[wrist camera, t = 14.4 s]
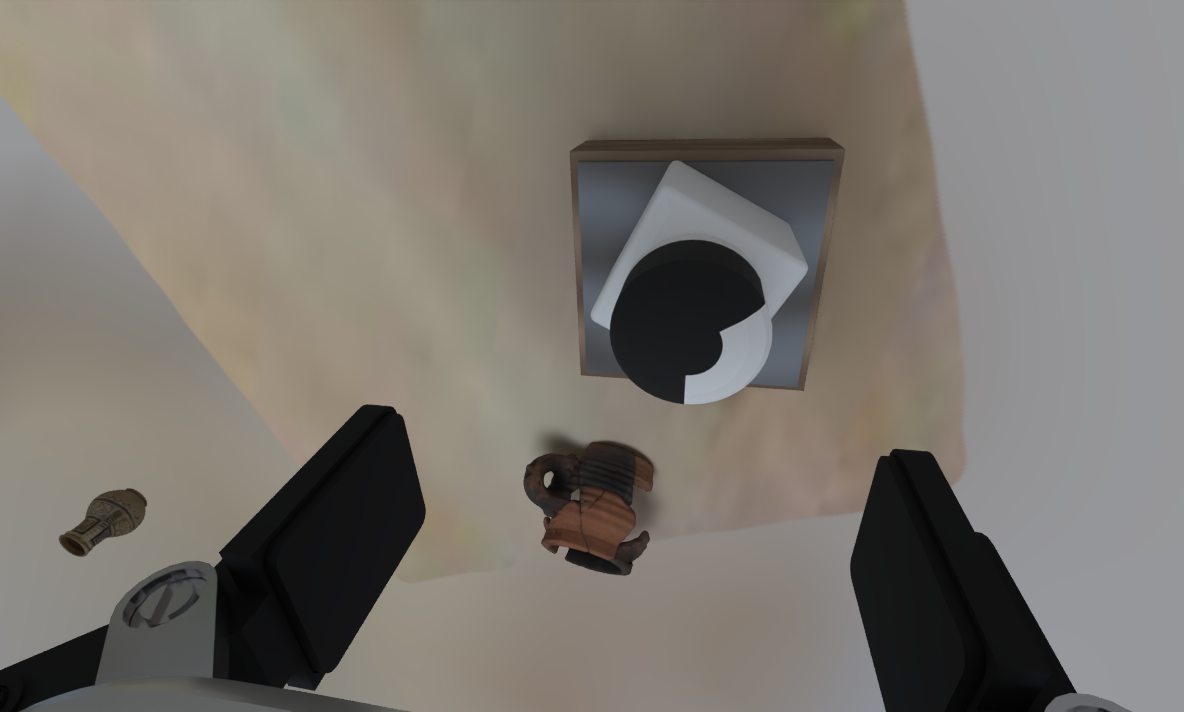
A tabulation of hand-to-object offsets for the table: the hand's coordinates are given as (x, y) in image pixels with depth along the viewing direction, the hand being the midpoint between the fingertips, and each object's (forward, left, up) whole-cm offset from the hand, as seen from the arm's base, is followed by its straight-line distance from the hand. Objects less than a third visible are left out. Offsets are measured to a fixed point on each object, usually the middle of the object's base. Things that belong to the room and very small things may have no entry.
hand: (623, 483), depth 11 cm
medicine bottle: (+2, +1, -22) cm, 22 cm away
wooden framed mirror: (+4, +1, -27) cm, 27 cm away
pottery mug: (+21, -6, -28) cm, 36 cm away
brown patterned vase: (+136, -209, -117) cm, 275 cm away
